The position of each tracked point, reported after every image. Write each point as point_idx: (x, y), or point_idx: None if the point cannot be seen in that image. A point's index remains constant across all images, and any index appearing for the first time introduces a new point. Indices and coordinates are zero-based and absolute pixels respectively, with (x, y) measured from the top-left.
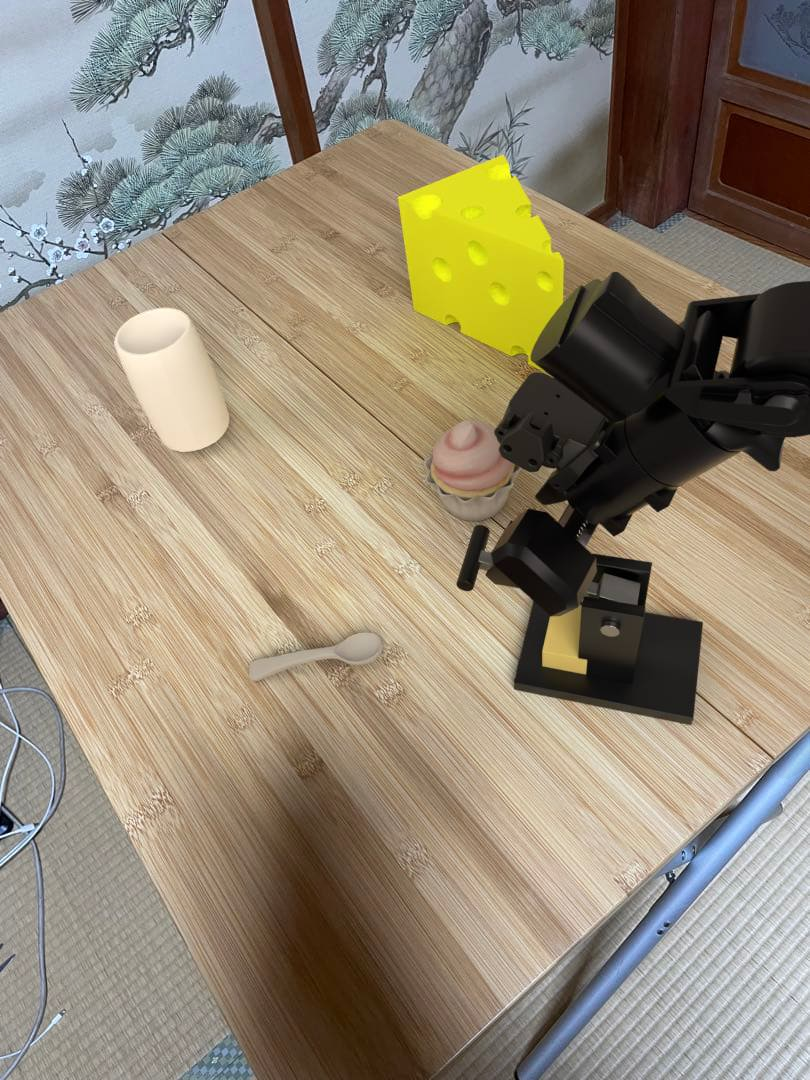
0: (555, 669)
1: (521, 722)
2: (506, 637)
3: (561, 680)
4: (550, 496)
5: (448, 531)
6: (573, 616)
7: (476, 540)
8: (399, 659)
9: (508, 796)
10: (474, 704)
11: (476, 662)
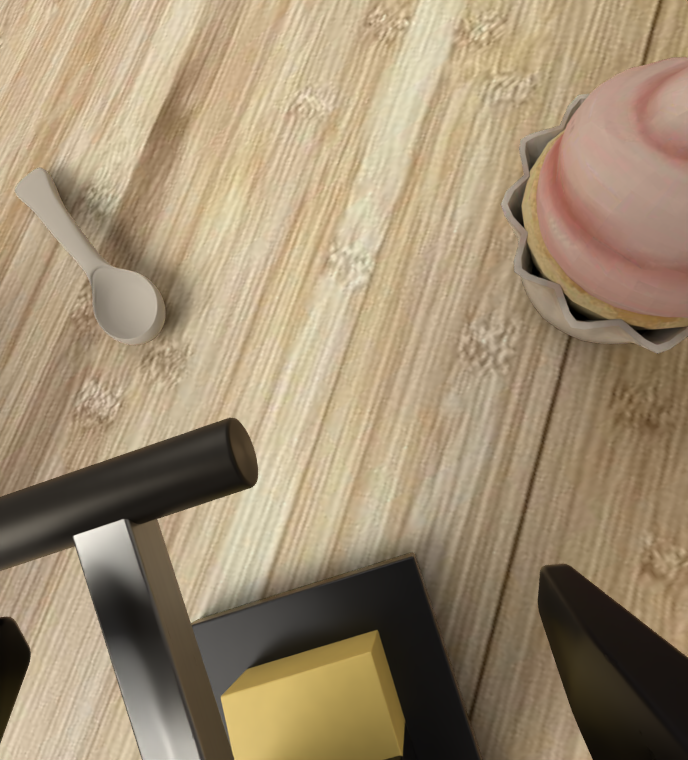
0: None
1: None
2: (300, 540)
3: None
4: (571, 668)
5: (479, 276)
6: (350, 729)
7: (145, 477)
8: (162, 377)
9: None
10: None
11: (220, 514)
